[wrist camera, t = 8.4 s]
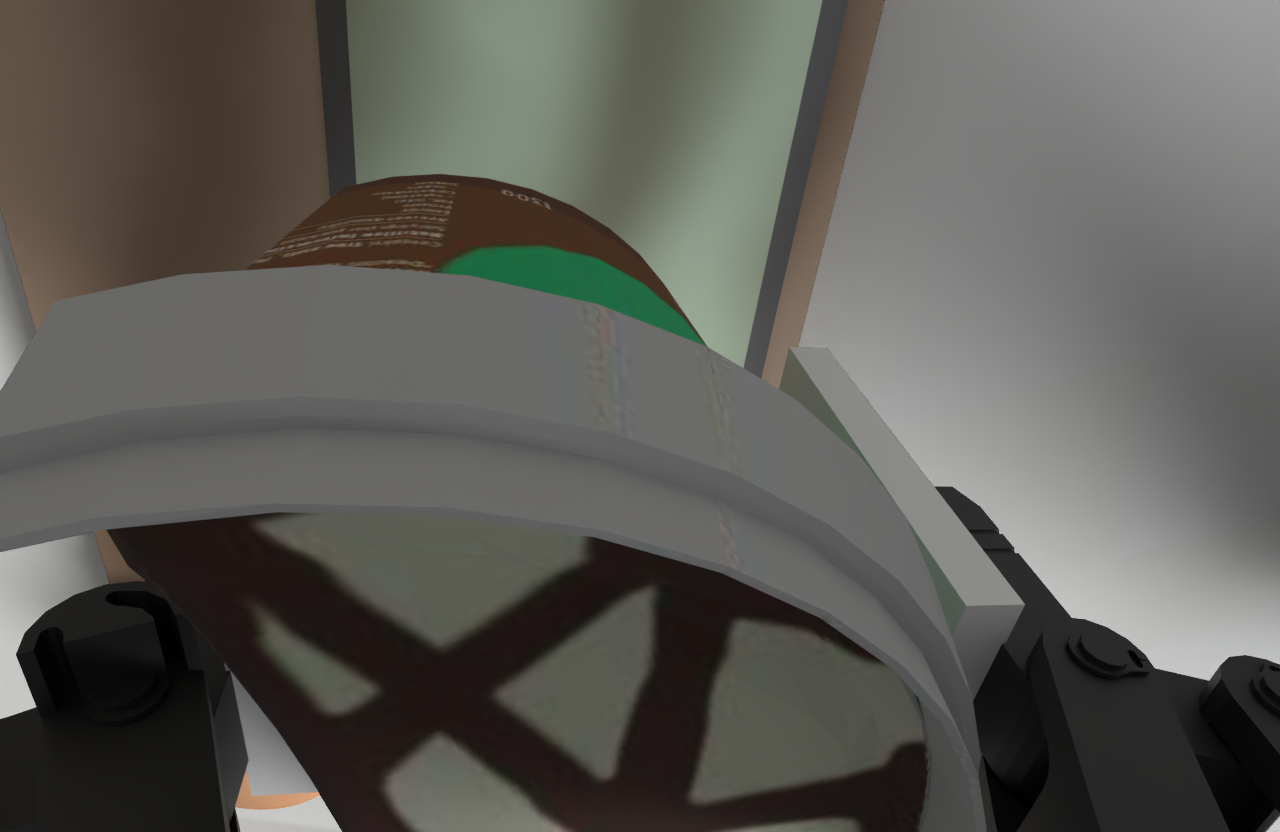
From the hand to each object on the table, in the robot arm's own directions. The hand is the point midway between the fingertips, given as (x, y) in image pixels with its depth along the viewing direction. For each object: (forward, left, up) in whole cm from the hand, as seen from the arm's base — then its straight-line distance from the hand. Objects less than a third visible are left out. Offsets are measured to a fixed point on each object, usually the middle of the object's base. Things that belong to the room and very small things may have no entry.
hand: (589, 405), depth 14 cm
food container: (0, 0, -1) cm, 1 cm away
